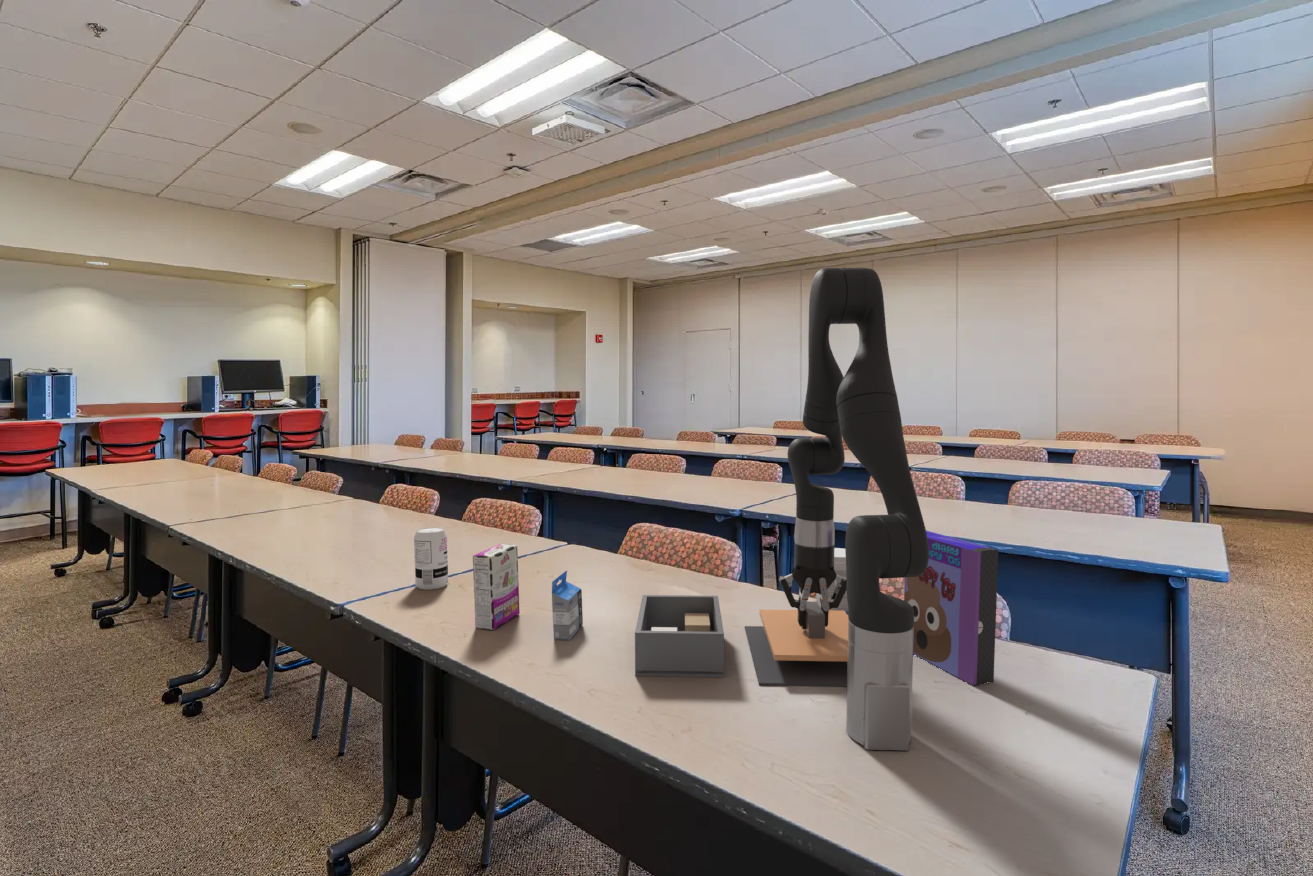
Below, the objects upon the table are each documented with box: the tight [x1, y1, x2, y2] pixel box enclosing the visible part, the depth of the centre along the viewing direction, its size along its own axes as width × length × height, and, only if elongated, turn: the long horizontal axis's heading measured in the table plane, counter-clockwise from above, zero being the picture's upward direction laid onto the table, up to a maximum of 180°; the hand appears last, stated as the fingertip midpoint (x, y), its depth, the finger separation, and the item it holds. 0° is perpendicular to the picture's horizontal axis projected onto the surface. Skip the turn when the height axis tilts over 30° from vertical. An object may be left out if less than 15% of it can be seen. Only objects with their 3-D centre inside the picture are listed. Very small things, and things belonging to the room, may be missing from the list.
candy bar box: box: [472, 543, 520, 631], centre depth 147 cm, size 11×5×16 cm, turn 161°
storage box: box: [634, 594, 725, 678], centre depth 130 cm, size 16×22×8 cm
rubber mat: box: [744, 625, 847, 688], centre depth 129 cm, size 28×24×1 cm
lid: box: [758, 601, 848, 661], centre depth 129 cm, size 18×24×6 cm
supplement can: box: [413, 526, 449, 591], centre depth 174 cm, size 8×8×15 cm
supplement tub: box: [816, 547, 848, 615], centre depth 151 cm, size 10×10×15 cm
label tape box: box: [551, 570, 584, 641], centre depth 141 cm, size 9×4×12 cm, turn 168°
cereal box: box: [903, 529, 999, 687], centre depth 123 cm, size 17×5×24 cm, turn 21°
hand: (812, 627), depth 129 cm, fingers closed on lid, 3 cm apart
